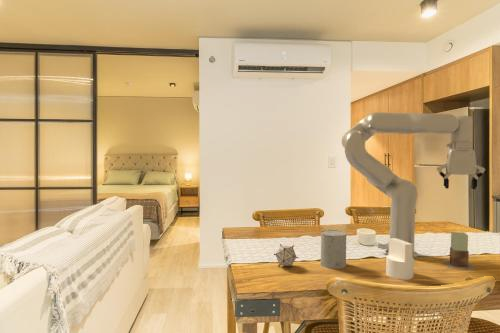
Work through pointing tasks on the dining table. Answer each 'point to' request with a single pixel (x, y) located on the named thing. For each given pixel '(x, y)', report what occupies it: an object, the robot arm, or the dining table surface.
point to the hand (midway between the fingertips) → (459, 188)
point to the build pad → (458, 267)
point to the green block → (459, 241)
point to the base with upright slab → (400, 260)
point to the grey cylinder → (333, 249)
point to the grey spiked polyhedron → (285, 255)
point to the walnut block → (459, 258)
